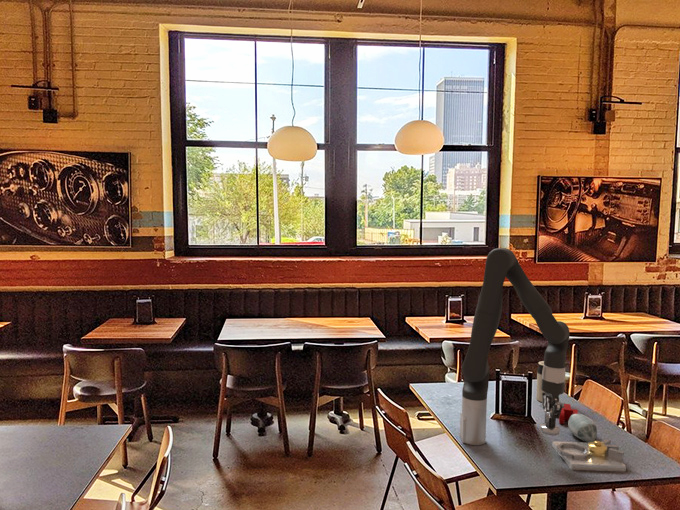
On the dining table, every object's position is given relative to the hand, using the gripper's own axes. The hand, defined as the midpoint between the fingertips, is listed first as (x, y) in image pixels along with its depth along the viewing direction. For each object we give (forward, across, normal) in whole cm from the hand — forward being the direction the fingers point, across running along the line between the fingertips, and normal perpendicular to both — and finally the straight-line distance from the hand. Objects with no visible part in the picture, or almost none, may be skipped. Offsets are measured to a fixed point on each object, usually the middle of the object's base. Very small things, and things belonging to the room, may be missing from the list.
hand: (549, 425), depth 182 cm
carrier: (+12, -2, +15) cm, 19 cm away
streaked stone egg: (+12, -21, +21) cm, 32 cm away
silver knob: (+2, 0, 0) cm, 2 cm away
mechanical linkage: (+13, -39, +22) cm, 47 cm away
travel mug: (+13, -62, +20) cm, 66 cm away
